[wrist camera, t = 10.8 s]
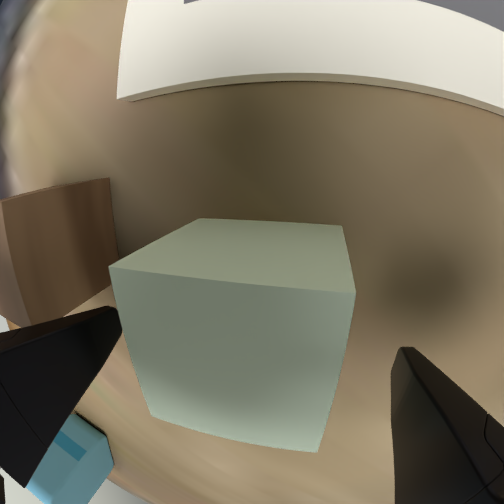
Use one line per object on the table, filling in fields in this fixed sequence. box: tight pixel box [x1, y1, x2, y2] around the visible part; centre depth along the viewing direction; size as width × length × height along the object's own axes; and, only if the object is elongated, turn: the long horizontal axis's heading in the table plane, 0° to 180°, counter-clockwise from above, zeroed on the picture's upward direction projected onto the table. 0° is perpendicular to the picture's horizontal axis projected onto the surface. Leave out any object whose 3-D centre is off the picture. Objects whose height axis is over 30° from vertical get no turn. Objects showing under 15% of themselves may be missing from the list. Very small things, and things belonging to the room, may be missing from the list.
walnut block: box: [0, 178, 119, 328], centre depth 10 cm, size 5×5×6 cm
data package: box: [26, 414, 114, 504], centre depth 18 cm, size 12×4×12 cm, turn 163°
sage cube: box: [108, 218, 356, 452], centre depth 9 cm, size 6×6×6 cm
